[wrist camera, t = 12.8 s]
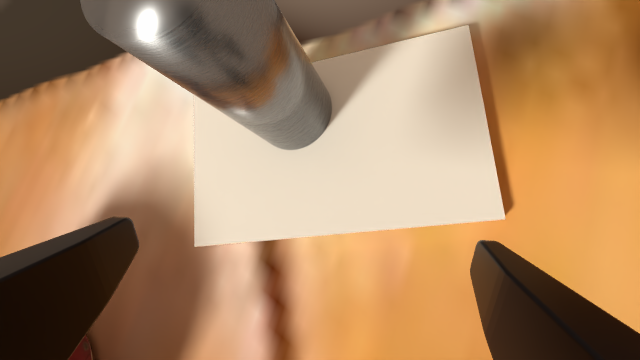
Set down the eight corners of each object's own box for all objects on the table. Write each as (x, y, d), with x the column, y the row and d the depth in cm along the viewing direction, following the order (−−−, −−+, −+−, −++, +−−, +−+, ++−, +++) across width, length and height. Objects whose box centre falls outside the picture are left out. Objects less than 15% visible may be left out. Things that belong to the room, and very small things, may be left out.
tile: (466, 34, 21) (468, 24, 20) (501, 220, 19) (505, 219, 18) (201, 96, 26) (193, 91, 25) (203, 246, 24) (194, 246, 23)
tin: (348, 99, 21) (259, -85, 9) (298, 165, 22) (147, 72, 9) (288, 61, 23) (146, -137, 11) (243, 122, 23) (54, -3, 11)
